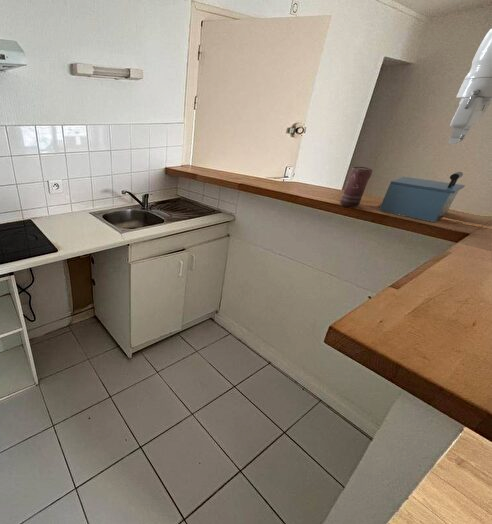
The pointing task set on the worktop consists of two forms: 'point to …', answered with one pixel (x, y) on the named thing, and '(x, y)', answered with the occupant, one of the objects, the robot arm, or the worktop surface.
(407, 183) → the blue box lid
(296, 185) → the worktop surface
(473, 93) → the robot arm
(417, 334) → the worktop surface
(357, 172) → the can
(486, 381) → the worktop surface
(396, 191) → the blue hinged box
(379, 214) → the worktop surface
